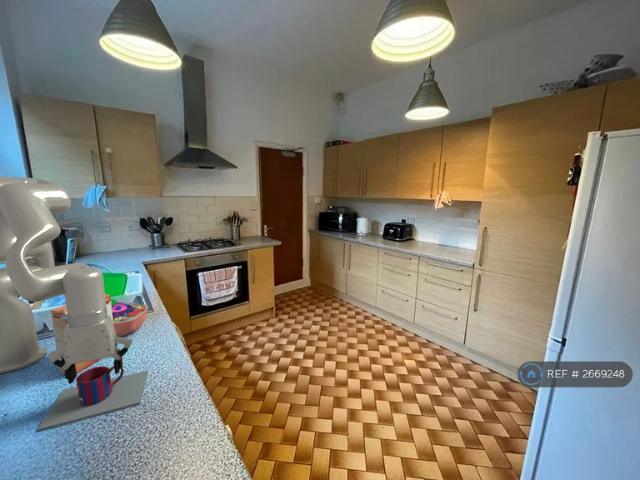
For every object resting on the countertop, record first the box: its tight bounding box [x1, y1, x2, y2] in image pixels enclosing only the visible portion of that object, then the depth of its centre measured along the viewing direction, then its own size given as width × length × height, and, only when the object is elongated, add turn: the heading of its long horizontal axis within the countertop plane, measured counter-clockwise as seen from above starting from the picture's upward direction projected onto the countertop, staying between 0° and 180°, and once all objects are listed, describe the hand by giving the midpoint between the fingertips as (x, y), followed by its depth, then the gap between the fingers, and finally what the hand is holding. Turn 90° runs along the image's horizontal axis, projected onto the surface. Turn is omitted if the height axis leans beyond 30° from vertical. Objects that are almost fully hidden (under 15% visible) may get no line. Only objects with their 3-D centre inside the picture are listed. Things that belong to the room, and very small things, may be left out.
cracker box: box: [50, 294, 113, 374], centre depth 86 cm, size 14×6×21 cm, turn 168°
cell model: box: [111, 302, 149, 337], centre depth 105 cm, size 17×20×11 cm
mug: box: [75, 365, 124, 406], centre depth 72 cm, size 7×10×7 cm
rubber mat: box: [37, 370, 149, 433], centre depth 72 cm, size 20×14×1 cm
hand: (96, 375), depth 71 cm, fingers open, 9 cm apart
